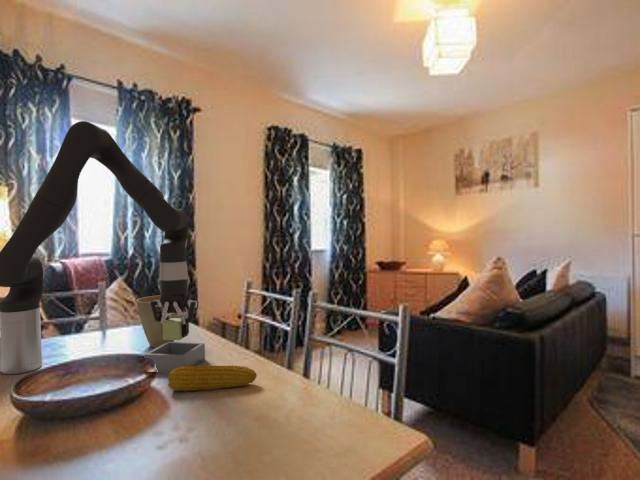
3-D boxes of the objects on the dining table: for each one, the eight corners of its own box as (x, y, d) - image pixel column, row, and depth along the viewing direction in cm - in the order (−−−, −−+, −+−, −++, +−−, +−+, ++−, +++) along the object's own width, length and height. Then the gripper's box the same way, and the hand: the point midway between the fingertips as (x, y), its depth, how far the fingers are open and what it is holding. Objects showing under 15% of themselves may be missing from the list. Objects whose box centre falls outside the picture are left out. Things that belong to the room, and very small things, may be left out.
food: (167, 396, 93) (166, 372, 93) (171, 387, 99) (171, 363, 98) (257, 388, 97) (256, 365, 97) (256, 380, 103) (256, 357, 102)
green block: (162, 339, 111) (162, 322, 111) (172, 334, 116) (171, 318, 116) (179, 340, 110) (178, 322, 110) (187, 335, 115) (187, 318, 115)
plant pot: (193, 341, 137) (192, 296, 137) (155, 353, 125) (154, 303, 124) (166, 335, 145) (165, 293, 145) (128, 346, 133) (127, 299, 132)
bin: (144, 372, 109) (144, 354, 109) (168, 357, 121) (167, 341, 120) (185, 374, 107) (184, 356, 107) (204, 359, 119) (204, 343, 118)
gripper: (143, 279, 110) (145, 339, 111) (190, 279, 108) (192, 340, 109) (158, 275, 118) (160, 332, 118) (203, 275, 115) (204, 333, 116)
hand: (175, 335), depth 113 cm, fingers closed on green block, 5 cm apart
